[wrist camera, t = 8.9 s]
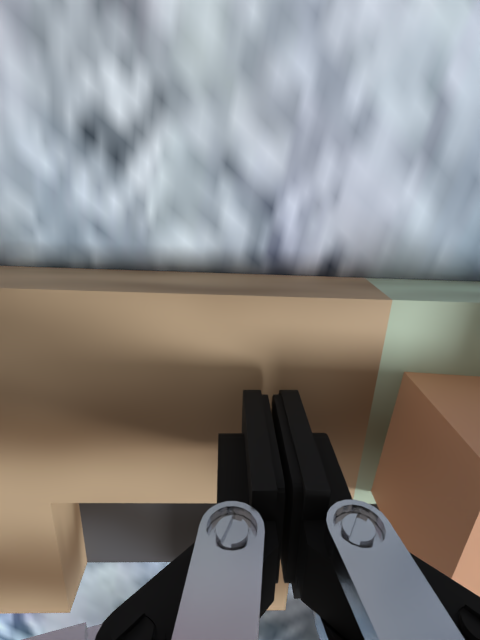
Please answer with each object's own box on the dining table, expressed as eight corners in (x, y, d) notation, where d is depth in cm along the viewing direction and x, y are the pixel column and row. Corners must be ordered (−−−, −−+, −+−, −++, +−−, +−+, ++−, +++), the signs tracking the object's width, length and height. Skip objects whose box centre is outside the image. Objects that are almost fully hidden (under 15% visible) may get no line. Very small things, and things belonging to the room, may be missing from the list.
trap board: (-134, 261, 13) (-445, 342, 7) (552, 283, 14) (793, 370, 8) (-42, 556, 18) (-175, 752, 12) (457, 554, 19) (563, 731, 13)
